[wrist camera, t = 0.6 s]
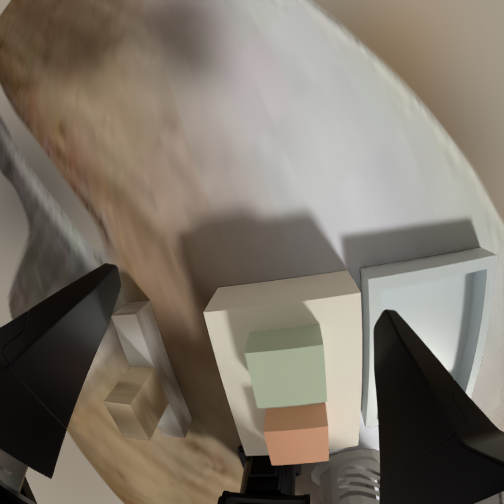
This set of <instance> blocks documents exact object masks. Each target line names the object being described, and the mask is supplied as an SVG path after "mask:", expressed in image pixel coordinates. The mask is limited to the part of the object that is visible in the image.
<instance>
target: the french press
mask: <svg viewBox="0 0 504 504" xmlns="http://www.w3.org/2000/svg"><path fill="white" fill-rule="evenodd" d="M311 477H312V481H313V482H315V483H316V484H317V485H318V486H320V504H379V500H376V495H377V496H380V478H381V477H380V451H377V450H374V449H356V450H350V451H345V452H341V453H338V454H336V455H333V456H330V457H329V461H323V462H320V463H319V464H317V465H316V466H315V467H314V469H313V471H312V472H311ZM376 479H377V482H378V483H376V482H374V481H375V480H376ZM374 486H375V487H377V488H379V492H378V491H376V490H375V488H374Z"/></svg>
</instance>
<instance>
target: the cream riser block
mask: <svg viewBox="0 0 504 504" xmlns="http://www.w3.org/2000/svg"><path fill="white" fill-rule="evenodd" d="M203 313H204V317H205V321H206V325H207V329H208V332H209V336H210V340H211V343H212V347H213V351H214V354H215V358H216V361H217V365H218V369H219V372H220V375H221V379H222V382H223V386H224V389H225V392H226V396H227V399H228V402H229V405H230V409H231V412H232V415H233V418H234V421H235V424H236V427H237V431H238V434H239V437H240V440H241V443H242V446H243V449H244V452H245V454H246V456H259V455H269V452H268V448H267V444H266V441H265V437H264V433H263V431H264V423H265V414H266V409H273V408H286V407H297V406H306V405H315V404H323V403H326V411H327V420H328V437H329V450H333V449H340V448H346V447H353V446H358V441H359V429H360V414H361V392H362V310H361V292H360V290H359V289H358V287H357V285H356V284H355V282H354V280H353V278H352V277H351V275H350V273H349V272H348V270H345V271H339V272H332V273H325V274H318V275H311V276H304V277H297V278H290V279H282V280H275V281H267V282H259V283H252V284H244V285H236V286H227V287H219V288H218V289H217V290H216V292H215V294H214V295H213V297H212V299H211V300H210V302H209V304H208V305H207V307H206V309H205V310H204V312H203ZM317 324H320V328H321V334H322V339H323V345H324V358H325V372H326V389H327V402H320V403H312V404H304V405H294V406H283V407H269V408H257V404H256V400H255V396H254V391H253V387H252V383H251V379H250V374H249V370H248V366H247V361H246V357H245V350H246V346H247V342H248V338H249V334H250V332H259V331H268V330H277V329H286V328H294V327H302V326H310V325H317Z"/></svg>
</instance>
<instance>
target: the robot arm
mask: <svg viewBox="0 0 504 504" xmlns="http://www.w3.org/2000/svg"><path fill="white" fill-rule="evenodd" d="M120 288H121V282H120V277H119V272H118V267H117V266H116V265H113V264H108V263H105V264H103V265H102V266H100V267H98V268H96V269H95V270H93V271H91V272H90V273H88V274H86V275H84V276H83V277H81V278H79V279H78V280H76V281H74V282H73V283H71V284H69V285H68V286H66V287H64V288H63V289H61V290H60V291H58V292H56V293H55V294H53V295H51V296H50V297H48V298H47V299H45V300H44V301H42V302H40V303H39V304H37V305H36V306H34V307H32V308H31V309H29V310H28V311H26V312H25V313H23V314H22V315H20V316H19V317H17V318H15V319H14V320H12V321H11V322H9V323H7V324H6V325H4V326H2V327H0V504H37V502H36V500H35V498H34V496H33V493H32V491H31V489H30V487H29V484H28V482H27V479H26V477H25V475H26V472H27V469H28V467H30V468H32V469H33V470H35V471H37V472H39V473H41V474H43V475H45V476H46V477H48V478H50V479H51V478H52V476H53V473H54V469H55V465H56V462H57V459H58V456H59V452H60V449H61V445H62V443H63V440H64V437H65V434H66V431H67V429H66V428H67V427H68V424H69V421H70V418H71V416H72V413H73V410H74V407H75V404H76V402H77V399H78V396H79V394H80V391H81V389H82V386H83V383H84V381H85V378H86V376H87V373H88V371H89V369H90V366H91V364H92V361H93V359H94V357H95V354H96V352H97V350H98V347H99V345H100V343H101V340H102V338H103V336H104V334H105V331H106V329H107V327H108V324H109V321H110V318H111V315H112V312H113V309H114V306H115V303H116V300H117V297H118V294H119V292H120ZM373 337H374V376H375V386H376V398H377V411H378V426H379V449H380V477H381V478H380V500H379V504H504V432H503V431H501V430H499V429H498V428H497V427H496V426H495V425H494V424H493V423H492V422H491V421H490V420H489V418H488V417H487V416H486V415H485V414H484V413H483V412H482V411H481V410H480V409H479V407H478V406H477V405H476V404H475V403H474V402H473V401H472V400H471V398H470V397H469V396H468V395H467V394H466V393H465V391H464V390H463V389H462V388H461V387H460V385H459V384H458V383H457V382H456V380H454V378H453V377H452V375H451V374H450V373H449V372H448V371H447V369H446V368H445V367H444V366H443V364H442V363H441V362H440V361H439V360H438V358H437V357H436V356H435V355H434V354H433V353H432V351H431V350H430V349H429V348H428V347H427V345H426V344H425V343H424V342H423V341H422V340H421V338H420V337H419V336H418V335H417V334H416V333H415V332H414V330H413V329H412V328H411V327H410V326H409V325H408V324H407V323H406V321H405V320H404V319H403V318H402V317H401V316H400V315H399V314H398V312H397V311H395V310H389V309H385V310H384V311H383V312H382V313H381V315H380V317H379V319H378V320H377V322H376V324H375V326H374V330H373ZM237 451H238V454H239V457H240V459H241V462H242V465H243V467H244V472H243V478H242V483H241V489H240V493H236V492H229V491H223V494H222V496H220V497H219V499H218V503H217V504H310V494H304V495H295V476H300V475H301V469H300V464H290V465H272V464H271V460H270V456H269V455H259V456H246V454H245V452H244V449H243V446H240V447H238V450H237Z"/></svg>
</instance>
